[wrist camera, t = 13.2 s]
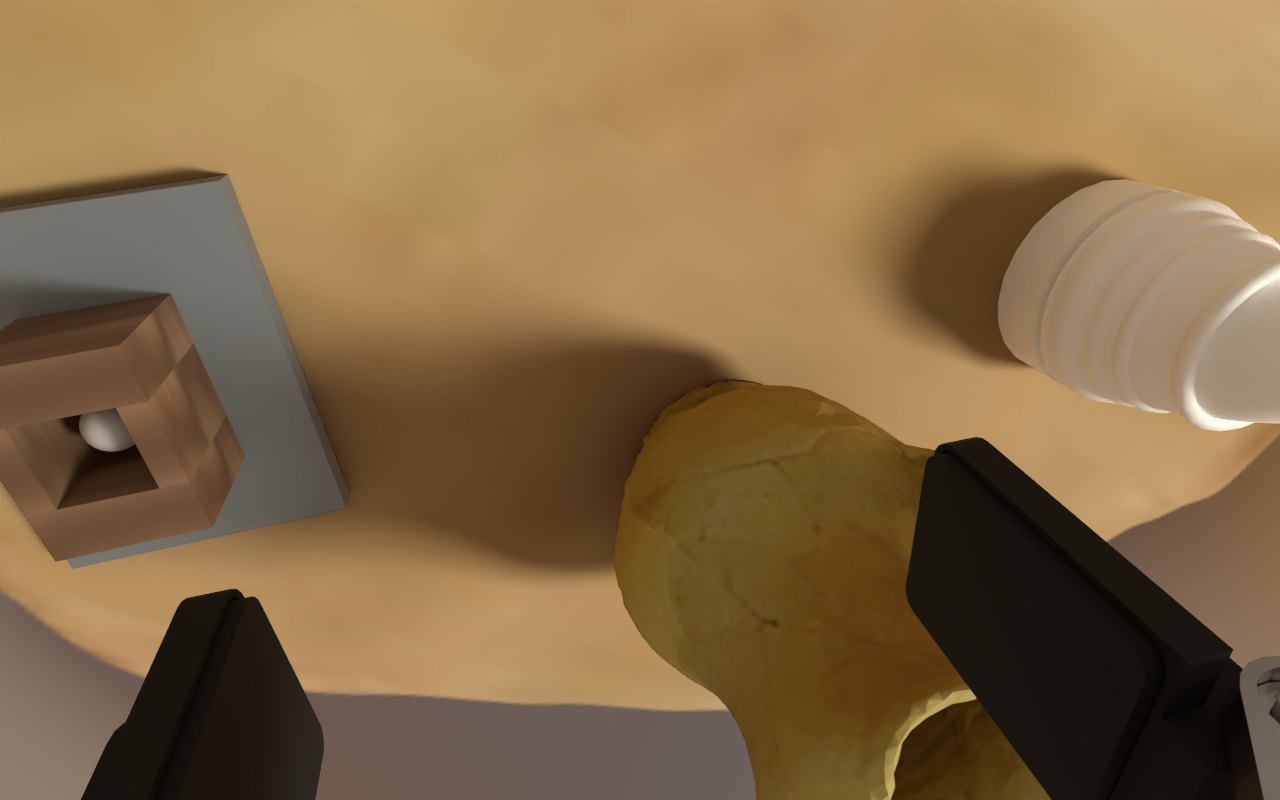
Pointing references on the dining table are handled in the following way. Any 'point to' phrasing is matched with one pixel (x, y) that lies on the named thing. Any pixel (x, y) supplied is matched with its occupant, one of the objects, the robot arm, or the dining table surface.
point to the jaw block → (148, 405)
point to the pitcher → (803, 598)
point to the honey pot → (1150, 304)
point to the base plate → (214, 316)
